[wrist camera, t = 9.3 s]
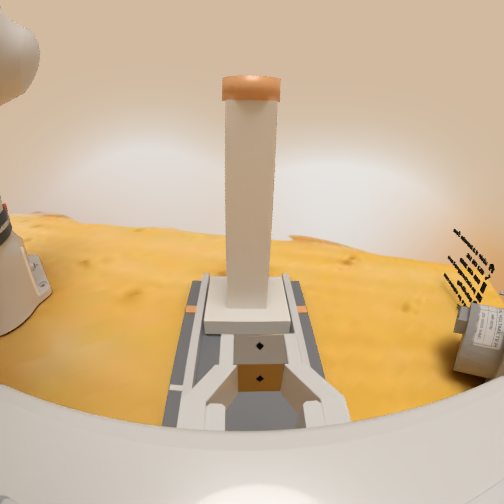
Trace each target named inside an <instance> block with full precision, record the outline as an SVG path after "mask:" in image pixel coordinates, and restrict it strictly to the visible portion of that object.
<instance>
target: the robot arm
mask: <svg viewBox="0 0 504 504" xmlns="http://www.w3.org/2000/svg"><path fill="white" fill-rule="evenodd" d="M39 59H40V51H39V45H38V42H37V39H36V38H35V36H34V35H33V33H32V32H31V31H30V30H28V29H27V28H24V27H22V26H19V25H18V24H16V23H14V22H13V21H12V20H11V19H9V18H8V17H7V16H6V15H5V13H4V12H3V11H2V9H1V7H0V106H1V105H3V104H5V103H7V102H9V101H10V100H12V99H14V98H16V97H18V96H20V95H22V94H23V93H25V91H26V90H27V89H28V88H29V86H30V84H31V83H32V81H33V79H34V77H35V75H36V72H37V69H38V65H39ZM6 207H7V206H6V204H2V202H1V197H0V336H1V335H3V334H6V333H8V332H10V331H11V330H13V329H15V328H16V327H18V326H19V325H20V324H21V323H23V322H24V321H25V320H26V319H27V318H28V317H29V316H30V315H31V314H32V312H33V311H34V310H35V308H36V307H37V306H38V304H39V303H40V302H42V301H43V300H44V299H46V298H47V297H48V296H49V295H50V294H51V293H52V288H51V286H50V283H49V281H48V279H47V276H46V274H45V271H44V269H43V266H42V263H41V261H40V258H39V256H38V255H27V252H26V249H25V245H24V242H23V239H22V238H21V237H20V236H18V235H17V234H16V233H14V232H13V231H12V226H11V223H10V218H9V216H8V213H7V211H8V210H7V208H6ZM257 391H280V393H281V394H282V395H283V397H284V398H285V399H286V400H287V402H288V403H289V404H290V405H291V406H292V408H293V409H294V410H295V411H296V412H297V414H298V415H299V418H298V421H297V424H296V427H295V429H285V430H266V431H228V429H227V419H226V410H227V408H228V407H229V406H230V404H231V403H232V401H233V400H234V398H235V397H236V396H237V394H238V392H257ZM0 504H504V376H500V377H498V378H495V379H493V380H491V381H489V382H486V383H484V384H482V385H479V386H477V387H474V388H472V389H469V390H467V391H464V392H462V393H459V394H456V395H453V396H451V397H448V398H445V399H442V400H439V401H436V402H432V403H429V404H426V405H422V406H419V407H416V408H412V409H408V410H404V411H400V412H396V413H392V414H388V415H384V416H379V417H374V418H369V419H364V420H359V421H353V422H351V419H350V415H349V412H348V408H347V404H346V401H345V397H344V396H343V395H342V394H341V393H340V392H338V391H337V390H336V389H335V388H334V387H333V386H331V385H330V384H329V383H328V382H327V381H326V380H325V379H323V378H322V377H321V376H320V375H319V374H318V373H317V372H316V371H314V370H313V369H312V368H311V367H310V366H309V365H308V364H307V363H302V358H301V353H300V349H299V344H298V339H297V335H296V334H295V333H289V334H259V335H250V334H221V340H220V354H219V365H214V366H213V367H212V369H211V370H210V371H209V372H208V373H207V374H206V375H205V376H204V377H203V378H202V379H201V380H200V381H199V382H198V383H197V384H196V385H195V386H194V387H193V388H192V389H191V391H190V392H189V393H188V394H187V395H186V396H185V397H184V398H183V399H182V400H181V402H180V408H179V415H178V421H177V428H174V427H165V426H156V425H149V424H142V423H136V422H130V421H124V420H119V419H114V418H109V417H105V416H100V415H96V414H91V413H87V412H83V411H80V410H76V409H72V408H69V407H65V406H62V405H59V404H55V403H52V402H49V401H46V400H43V399H40V398H37V397H34V396H32V395H29V394H26V393H23V392H21V391H18V390H16V389H13V388H11V387H9V386H6V385H3V384H0Z"/></svg>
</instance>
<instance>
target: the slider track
mask: <svg viewBox="0 0 504 504" xmlns="http://www.w3.org/2000/svg"><path fill="white" fill-rule="evenodd" d="M282 280H283V285H284V290H285V295H286V300H287V305H288V310H289V314H290V319H291V323H290V330H289V333H295V334H296V335H297V339H298V344H299V349H300V353H301V358H302V363H307V364H308V365H309V366H310V367H311V368H312V369H313V370H314V371H316V372H317V373H318V374H319V375H320V376H321V377H322V378H323V379H325V376H324V372H323V368H322V364H321V360H320V356H319V353H318V349H317V345H316V341H315V338H314V334H313V330H312V327H311V323H310V319H309V316H308V312H307V308H306V305H305V301H304V298H303V294H302V291H301V287H300V284H299V281H290V278H289V274H282ZM209 284H210V275H209V273H203V277H202V281H192V285H191V289H190V293H189V298H188V302H187V306H186V310H185V315H184V319H183V323H182V328H181V332H180V337H179V341H178V346H177V351H176V356H175V360H174V365H173V370H172V375H171V380H170V385H169V390H168V396H167V401H166V407H165V412H164V418H163V424H162V426H165V427H174V428H177V421H178V415H179V408H180V402H181V400H182V399H183V398H184V397H185V396H186V395H187V394H188V393H189V392H190V391H191V389H192V388H193V387H194V386H195V385H196V384H197V383H198V382H199V381H200V380H201V379H202V378H203V377H204V376H205V375H206V374H207V373H208V372H209V371H210V370H211V369H212V367H213V366H214V365H219V354H220V340H221V334H205V328H204V316H205V309H206V303H207V296H208V290H209ZM250 335H259V334H250ZM298 418H299V415H298V414H297V412H296V411H295V410H294V409H293V408H292V406H291V405H290V404H289V403H288V402H287V400H286V399H285V398H284V397H283V395H282V394H281V393H280V391H257V392H238V394H237V396H236V397H235V398H234V400H233V401H232V403H231V404H230V406H229V407H228V408H227V410H226V419H227V429H228V431H266V430H285V429H295V427H296V424H297V421H298Z"/></svg>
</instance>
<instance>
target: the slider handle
mask: <svg viewBox="0 0 504 504" xmlns="http://www.w3.org/2000/svg"><path fill="white" fill-rule="evenodd" d="M222 101H226V108H225V109H226V111H225V112H226V113H225V116H226V117H225V205H226V206H225V212H226V267H227V277H216V276H211V277H210V284H209V290H208V296H207V303H206V309H205V316H204V328H205V334H289V330H290V323H291V319H290V314H289V310H288V305H287V300H286V295H285V290H284V285H283V280H282V277H269V262H270V245H271V229H272V210H273V191H274V172H275V149H276V126H277V102H280V79H278V78H274V77H267V76H229V77H224V78H223V85H222Z"/></svg>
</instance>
